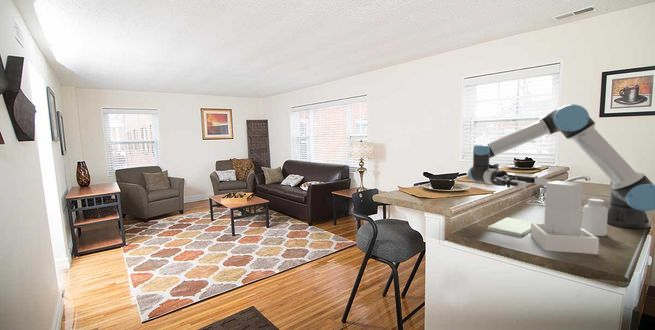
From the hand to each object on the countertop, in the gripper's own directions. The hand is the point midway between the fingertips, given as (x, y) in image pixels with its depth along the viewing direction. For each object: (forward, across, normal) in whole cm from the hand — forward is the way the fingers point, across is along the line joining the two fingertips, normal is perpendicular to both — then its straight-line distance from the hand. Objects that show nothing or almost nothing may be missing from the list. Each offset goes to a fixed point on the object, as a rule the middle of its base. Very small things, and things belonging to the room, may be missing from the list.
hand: (537, 184), depth 125 cm
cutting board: (-12, -2, -23) cm, 26 cm away
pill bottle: (+7, -25, -23) cm, 35 cm away
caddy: (+10, -1, -23) cm, 25 cm away
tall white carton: (+10, -1, -23) cm, 25 cm away
